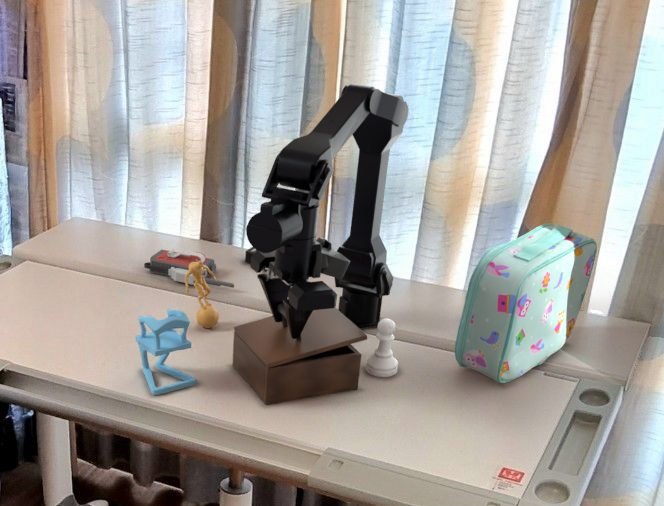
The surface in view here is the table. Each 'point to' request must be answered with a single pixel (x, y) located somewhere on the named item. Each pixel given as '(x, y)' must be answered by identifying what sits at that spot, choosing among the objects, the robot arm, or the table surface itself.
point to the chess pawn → (383, 352)
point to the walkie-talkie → (182, 266)
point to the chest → (298, 373)
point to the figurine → (202, 295)
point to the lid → (317, 337)
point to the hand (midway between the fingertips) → (286, 330)
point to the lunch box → (524, 301)
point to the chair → (164, 347)
